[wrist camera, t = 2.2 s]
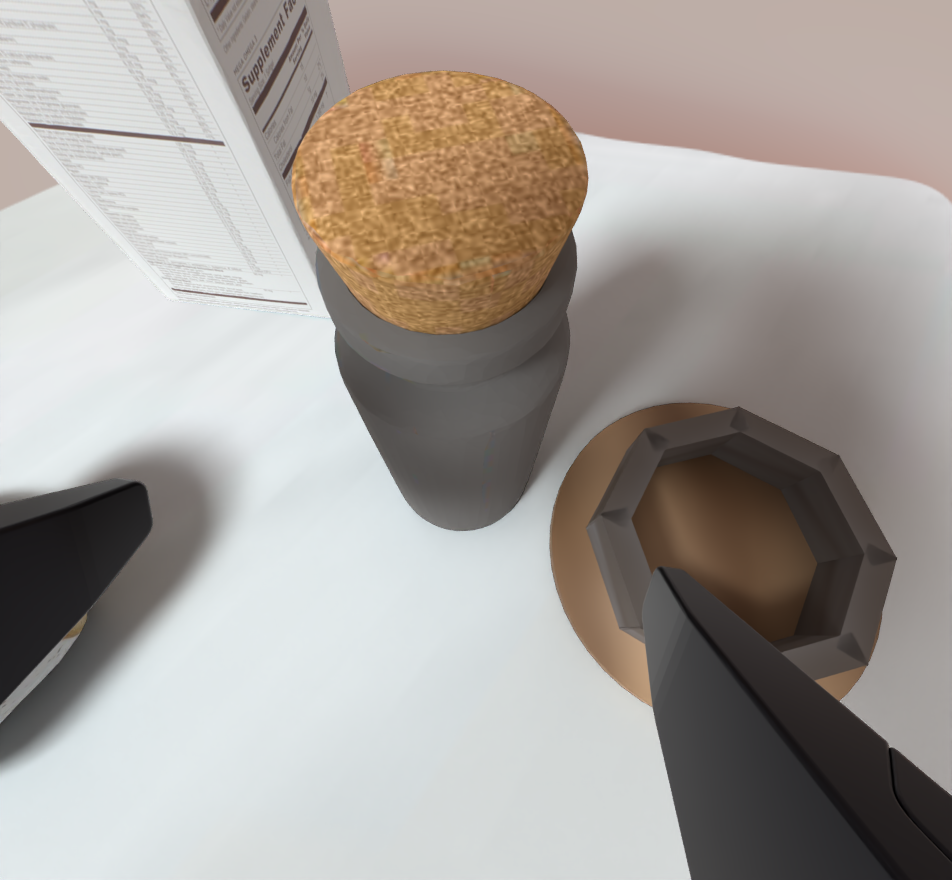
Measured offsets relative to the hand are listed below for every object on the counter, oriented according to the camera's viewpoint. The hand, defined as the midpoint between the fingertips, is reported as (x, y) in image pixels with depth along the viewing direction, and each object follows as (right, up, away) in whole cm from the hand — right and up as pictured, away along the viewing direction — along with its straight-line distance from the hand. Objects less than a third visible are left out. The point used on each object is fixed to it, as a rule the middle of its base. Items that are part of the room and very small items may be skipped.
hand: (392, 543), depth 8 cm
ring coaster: (+11, -3, +12) cm, 16 cm away
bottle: (+1, +1, +13) cm, 13 cm away
